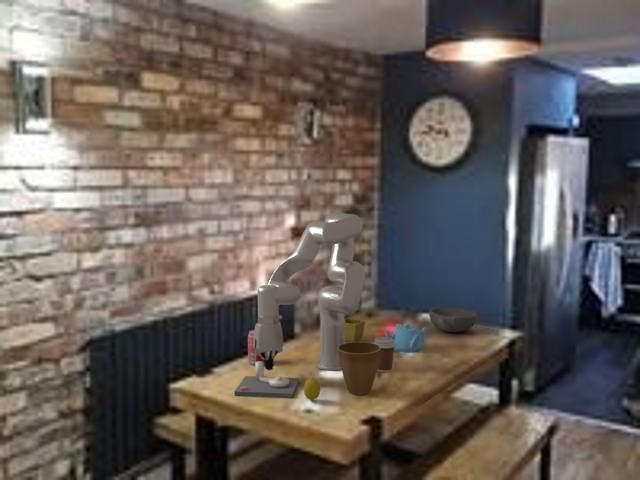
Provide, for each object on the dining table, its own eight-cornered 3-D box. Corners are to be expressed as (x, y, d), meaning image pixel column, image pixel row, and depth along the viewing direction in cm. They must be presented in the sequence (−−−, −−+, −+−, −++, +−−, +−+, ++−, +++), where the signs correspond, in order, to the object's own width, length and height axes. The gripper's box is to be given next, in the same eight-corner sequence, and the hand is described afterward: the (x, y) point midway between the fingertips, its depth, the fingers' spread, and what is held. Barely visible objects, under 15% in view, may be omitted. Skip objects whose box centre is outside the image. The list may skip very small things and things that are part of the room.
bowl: (481, 337, 313) (482, 316, 312) (432, 337, 313) (432, 316, 312) (471, 325, 336) (472, 305, 334) (425, 325, 336) (425, 305, 335)
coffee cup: (400, 369, 265) (400, 339, 263) (385, 374, 258) (385, 343, 257) (382, 364, 271) (382, 334, 270) (366, 369, 265) (367, 339, 263)
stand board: (299, 382, 249) (299, 375, 249) (292, 398, 233) (292, 391, 232) (245, 379, 252) (245, 373, 251) (234, 395, 235) (234, 388, 235)
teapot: (429, 346, 298) (429, 322, 297) (418, 355, 284) (418, 329, 283) (395, 342, 305) (396, 318, 303) (383, 350, 291) (384, 325, 290)
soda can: (263, 366, 268) (263, 334, 267) (245, 365, 270) (245, 333, 268) (268, 361, 275) (268, 329, 274) (251, 360, 276) (250, 328, 275)
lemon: (303, 398, 232) (303, 375, 231) (319, 397, 233) (319, 375, 232) (304, 404, 227) (304, 380, 226) (320, 403, 227) (321, 380, 226)
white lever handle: (293, 383, 242) (293, 367, 241) (279, 388, 237) (279, 371, 236) (263, 375, 251) (263, 359, 250) (249, 380, 246) (249, 363, 245)
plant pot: (356, 382, 249) (356, 339, 248) (388, 391, 239) (389, 347, 237) (328, 392, 239) (328, 347, 237) (361, 402, 228) (361, 355, 227)
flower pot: (365, 340, 308) (365, 320, 307) (355, 344, 301) (356, 324, 300) (348, 337, 313) (348, 318, 312) (338, 341, 306) (338, 321, 304)
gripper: (282, 315, 254) (283, 363, 256) (245, 319, 247) (245, 369, 249) (291, 319, 247) (291, 369, 249) (253, 324, 240) (253, 375, 242)
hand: (268, 369), depth 249 cm, fingers closed
